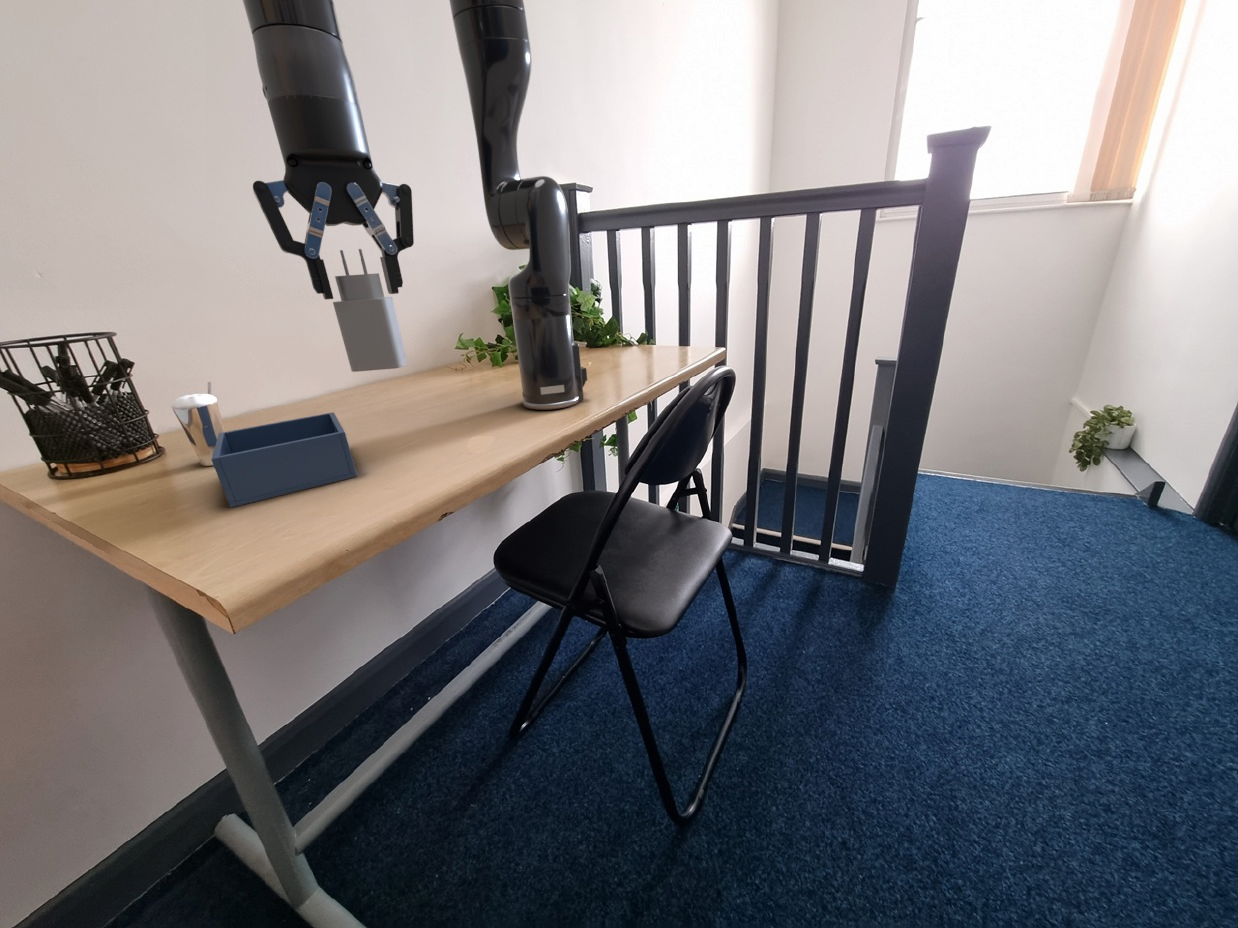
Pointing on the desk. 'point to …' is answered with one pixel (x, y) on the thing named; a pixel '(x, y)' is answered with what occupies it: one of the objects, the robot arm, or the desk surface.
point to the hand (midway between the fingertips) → (362, 295)
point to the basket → (282, 458)
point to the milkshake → (200, 422)
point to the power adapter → (368, 322)
